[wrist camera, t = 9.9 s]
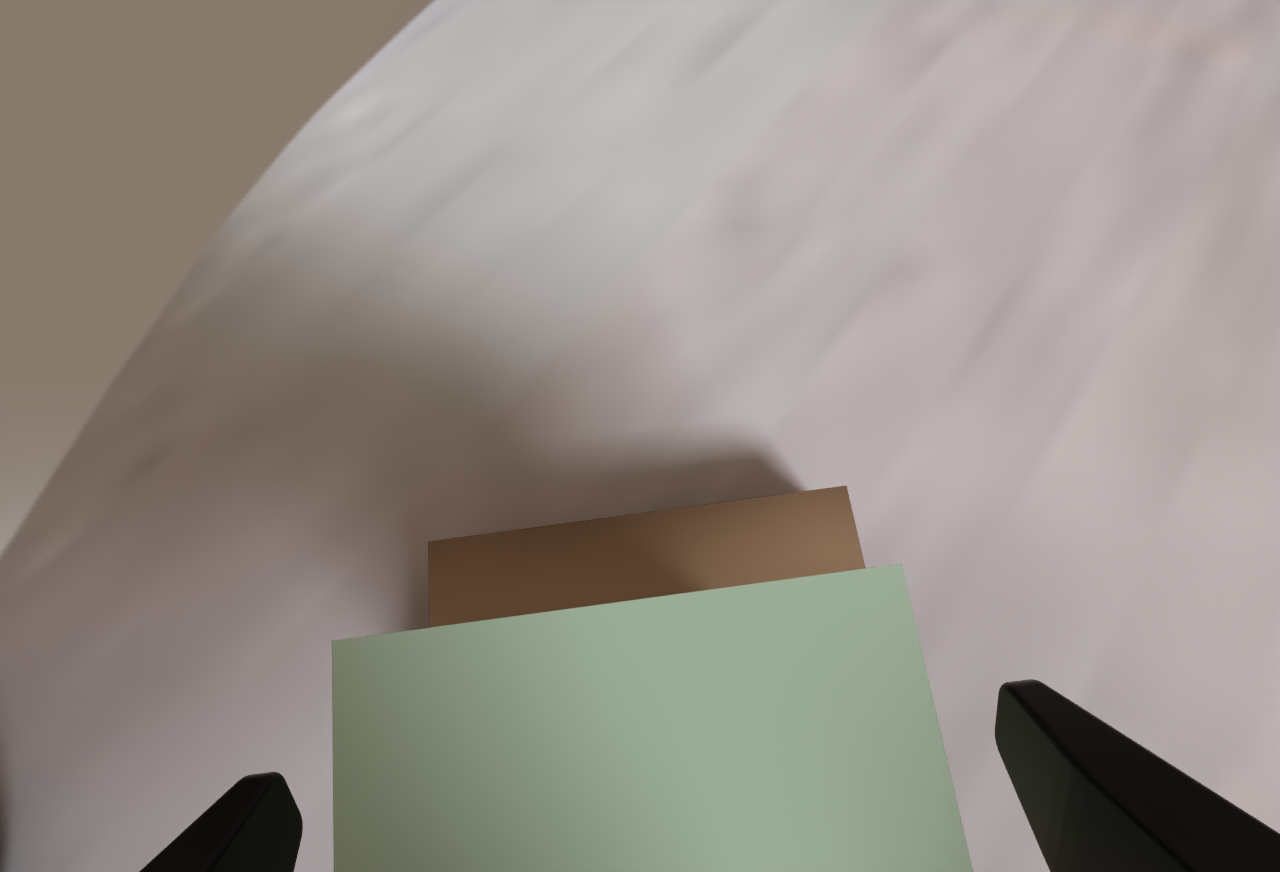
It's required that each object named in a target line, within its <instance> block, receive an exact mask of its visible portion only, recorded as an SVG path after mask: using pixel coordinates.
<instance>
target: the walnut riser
mask: <svg viewBox="0 0 1280 872" xmlns="http://www.w3.org/2000/svg"><path fill="white" fill-rule="evenodd" d="M428 558H429V603H430V628H431V627H439V626H446V625H453V624H461V623H468V622H475V621H483V620H490V619H498V618H505V617H512V616H520V615H527V614H534V613H542V612H549V611H557V610H564V609H571V608H579V607H586V606H593V605H601V604H608V603H615V602H623V601H630V600H638V599H645V598H652V597H660V596H667V595H674V594H682V593H689V592H697V591H704V590H711V589H719V588H726V587H733V586H741V585H748V584H755V583H763V582H770V581H778V580H785V579H792V578H800V577H807V576H814V575H822V574H829V573H837V572H844V571H851V570H859V569H865V565H864V560H863V556H862V552H861V547H860V543H859V538H858V534H857V530H856V525H855V521H854V517H853V512H852V508H851V504H850V499H849V495H848V490H847V486H840V487H833V488H825V489H818V490H810V491H803V492H796V493H788V494H781V495H773V496H766V497H758V498H751V499H743V500H736V501H729V502H721V503H714V504H706V505H699V506H691V507H684V508H676V509H669V510H661V511H654V512H647V513H639V514H632V515H624V516H617V517H609V518H602V519H594V520H587V521H579V522H572V523H565V524H557V525H550V526H542V527H535V528H527V529H520V530H512V531H505V532H497V533H490V534H483V535H475V536H468V537H460V538H453V539H445V540H438V541H430V542H428Z"/></svg>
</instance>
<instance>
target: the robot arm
mask: <svg viewBox="0 0 1280 872" xmlns="http://www.w3.org/2000/svg"><path fill="white" fill-rule="evenodd" d="M995 739H996V744H997V747H998V750H999V753H1000V755H1001V758H1002V760H1003V762H1004V765H1005V767H1006V769H1007V772H1008V774H1009V776H1010V779H1011V781H1012V783H1013V786H1014V788H1015V791H1016V793H1017V795H1018V798H1019V800H1020V802H1021V805H1022V807H1023V809H1024V812H1025V814H1026V816H1027V819H1028V821H1029V823H1030V826H1031V828H1032V830H1033V833H1034V835H1035V837H1036V840H1037V842H1038V844H1039V847H1040V849H1041V851H1042V854H1043V856H1044V858H1045V861H1046V863H1047V865H1048V867H1049V869H1050V872H1280V834H1279V833H1278V832H1276V831H1275V830H1273V829H1272V828H1270V827H1268V826H1267V825H1265V824H1264V823H1262V822H1261V821H1259V820H1257V819H1256V818H1254V817H1253V816H1251V815H1250V814H1248V813H1246V812H1245V811H1243V810H1242V809H1240V808H1239V807H1237V806H1235V805H1234V804H1232V803H1231V802H1229V801H1228V800H1226V799H1224V798H1223V797H1221V796H1220V795H1218V794H1217V793H1215V792H1213V791H1212V790H1210V789H1209V788H1207V787H1206V786H1204V785H1202V784H1201V783H1199V782H1198V781H1196V780H1195V779H1193V778H1191V777H1190V776H1188V775H1187V774H1185V773H1184V772H1182V771H1180V770H1179V769H1177V768H1176V767H1174V766H1173V765H1171V764H1169V763H1168V762H1166V761H1165V760H1163V759H1162V758H1160V757H1158V756H1157V755H1155V754H1154V753H1152V752H1151V751H1149V750H1147V749H1146V748H1144V747H1143V746H1141V745H1140V744H1138V743H1136V742H1135V741H1133V740H1132V739H1130V738H1129V737H1127V736H1125V735H1124V734H1122V733H1121V732H1119V731H1117V730H1116V729H1114V728H1113V727H1111V726H1110V725H1108V724H1106V723H1105V722H1103V721H1102V720H1100V719H1099V718H1097V717H1095V716H1094V715H1092V714H1091V713H1089V712H1088V711H1086V710H1084V709H1083V708H1081V707H1080V706H1078V705H1077V704H1075V703H1073V702H1072V701H1070V700H1069V699H1067V698H1066V697H1064V696H1062V695H1061V694H1059V693H1058V692H1056V691H1055V690H1053V689H1051V688H1050V687H1048V686H1047V685H1045V684H1044V683H1042V682H1040V681H1037V680H1032V679H1031V680H1022V681H1014V682H1006V683H1004V684H1003V685H1002V686H1001V687H1000V690H999V696H998V705H997V715H996V724H995ZM302 828H303V826H302V817H301V814H300V811H299V809H298V807H297V805H296V803H295V800H294V798H293V796H292V794H291V792H290V790H289V787H288V785H287V783H286V781H285V779H284V777H283V776H282V775H281V774H279V773H278V772H269V773H261V774H253V775H248V776H245V777H244V778H242V779H241V780H239V781H238V782H237V783H236V784H235V785H234V786H233V787H231V788H230V789H229V790H228V791H227V792H226V793H225V794H224V795H223V796H222V797H221V798H219V799H218V800H217V801H216V802H215V803H214V804H213V805H212V806H211V807H210V808H209V809H207V810H206V811H205V812H204V813H203V814H202V815H201V816H200V817H199V818H198V819H196V820H195V821H194V822H193V823H192V824H191V825H190V826H189V827H188V828H187V829H186V830H184V831H183V832H182V833H181V834H180V835H179V836H178V837H177V838H176V839H175V840H174V841H172V842H171V843H170V844H169V845H168V846H167V847H166V848H165V849H164V850H163V851H162V852H160V853H159V854H158V855H157V856H156V857H155V858H154V859H153V860H152V861H151V862H150V863H148V864H147V865H146V866H145V867H144V868H143V869H142V870H141V871H140V872H294V867H295V863H296V859H297V854H298V850H299V846H300V841H301V837H302Z"/></svg>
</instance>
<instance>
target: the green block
mask: <svg viewBox="0 0 1280 872" xmlns="http://www.w3.org/2000/svg"><path fill="white" fill-rule="evenodd" d="M332 702H333V828H334V872H973V869H972V865H971V860H970V856H969V852H968V848H967V843H966V839H965V835H964V830H963V826H962V822H961V817H960V813H959V809H958V805H957V800H956V796H955V792H954V787H953V783H952V779H951V775H950V770H949V766H948V762H947V757H946V753H945V749H944V744H943V740H942V736H941V732H940V727H939V723H938V719H937V714H936V710H935V706H934V702H933V697H932V693H931V689H930V684H929V680H928V676H927V671H926V667H925V663H924V659H923V654H922V650H921V646H920V641H919V637H918V633H917V629H916V624H915V620H914V616H913V611H912V607H911V603H910V598H909V594H908V590H907V586H906V581H905V577H904V573H903V568H902V564H895V565H888V566H881V567H873V568H866V569H859V570H851V571H844V572H837V573H829V574H822V575H814V576H807V577H800V578H792V579H785V580H778V581H770V582H763V583H755V584H748V585H741V586H733V587H726V588H719V589H711V590H704V591H697V592H689V593H682V594H674V595H667V596H660V597H652V598H645V599H638V600H630V601H623V602H615V603H608V604H601V605H593V606H586V607H579V608H571V609H564V610H557V611H549V612H542V613H534V614H527V615H520V616H512V617H505V618H498V619H490V620H483V621H475V622H468V623H461V624H453V625H446V626H439V627H431V628H424V629H417V630H409V631H402V632H394V633H387V634H380V635H372V636H365V637H358V638H350V639H343V640H335V641H332Z"/></svg>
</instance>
